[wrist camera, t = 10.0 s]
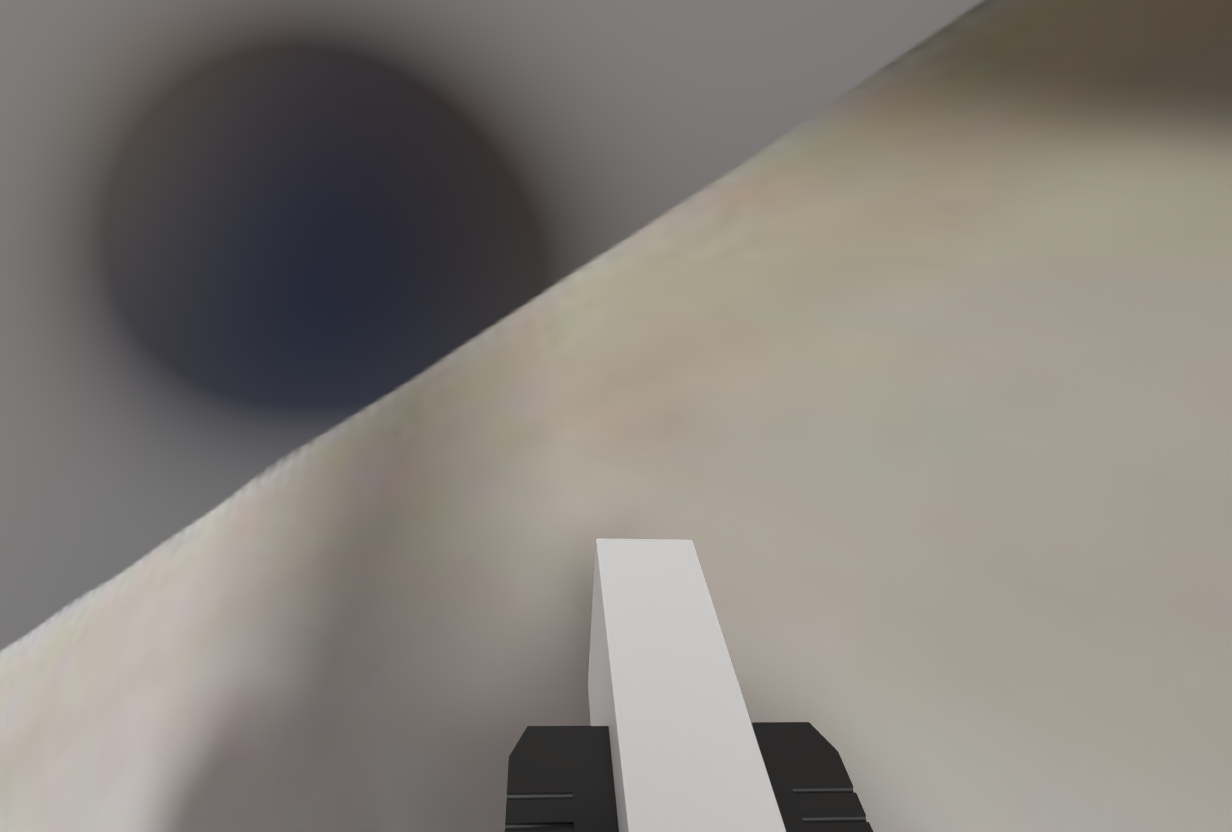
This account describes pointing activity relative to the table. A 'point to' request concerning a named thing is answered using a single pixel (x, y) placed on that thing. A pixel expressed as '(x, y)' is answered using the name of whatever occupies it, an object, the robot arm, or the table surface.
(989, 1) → the table surface
